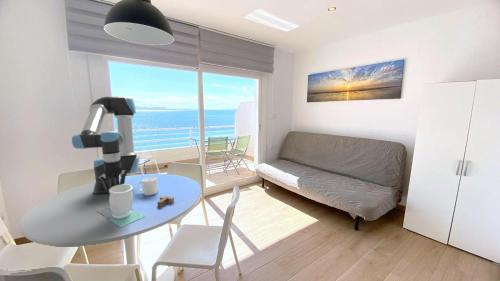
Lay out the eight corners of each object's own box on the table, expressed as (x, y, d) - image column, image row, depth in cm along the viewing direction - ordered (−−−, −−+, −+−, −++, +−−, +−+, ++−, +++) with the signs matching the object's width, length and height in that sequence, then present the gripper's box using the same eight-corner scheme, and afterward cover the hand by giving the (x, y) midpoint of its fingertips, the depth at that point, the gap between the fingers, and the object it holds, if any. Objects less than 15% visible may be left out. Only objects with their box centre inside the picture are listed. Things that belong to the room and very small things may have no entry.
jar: (117, 208, 112) (117, 183, 109) (137, 209, 112) (136, 184, 109) (105, 219, 102) (103, 192, 98) (126, 221, 102) (125, 193, 99)
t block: (153, 206, 117) (153, 201, 117) (162, 200, 125) (162, 195, 124) (165, 208, 115) (165, 203, 115) (174, 201, 123) (173, 197, 123)
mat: (98, 212, 111) (98, 211, 111) (122, 203, 120) (122, 203, 120) (120, 227, 96) (120, 227, 96) (145, 216, 106) (145, 216, 106)
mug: (160, 190, 141) (159, 177, 139) (153, 195, 132) (152, 181, 131) (144, 189, 142) (142, 176, 140) (136, 195, 133) (134, 181, 131)
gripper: (100, 164, 99) (105, 209, 102) (128, 159, 109) (132, 200, 113) (94, 162, 103) (99, 205, 106) (122, 157, 113) (126, 197, 117)
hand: (116, 202), depth 110 cm, fingers closed
